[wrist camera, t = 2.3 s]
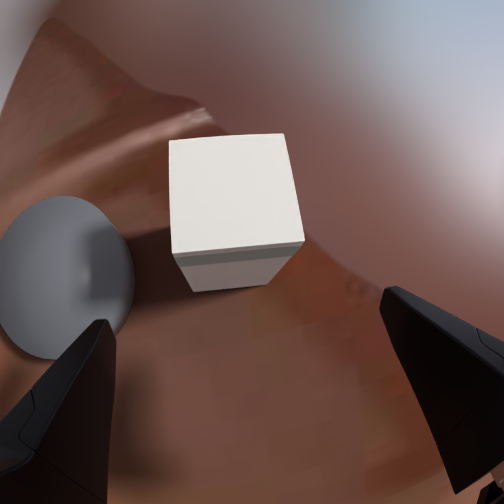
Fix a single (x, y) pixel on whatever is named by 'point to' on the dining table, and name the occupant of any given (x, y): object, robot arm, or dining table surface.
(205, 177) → the carton
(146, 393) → the dining table surface
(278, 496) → the dining table surface
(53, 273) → the grey dome
